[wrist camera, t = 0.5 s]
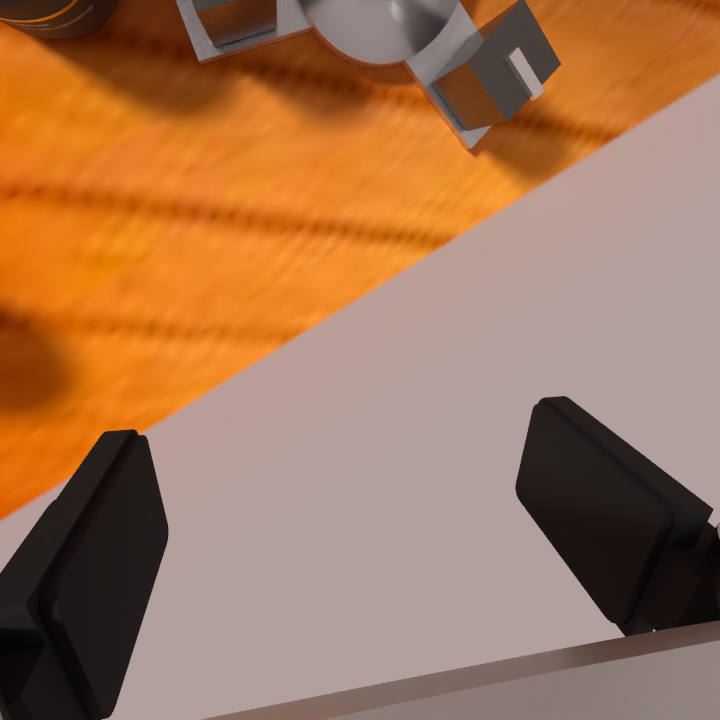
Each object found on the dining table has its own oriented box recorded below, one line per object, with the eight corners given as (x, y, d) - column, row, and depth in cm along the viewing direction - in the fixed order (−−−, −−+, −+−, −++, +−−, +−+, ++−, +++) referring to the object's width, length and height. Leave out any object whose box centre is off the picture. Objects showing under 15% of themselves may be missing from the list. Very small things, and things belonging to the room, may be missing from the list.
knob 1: (430, 83, 30) (470, 59, 24) (474, 32, 29) (527, -7, 23) (467, 133, 32) (513, 123, 25) (510, 86, 31) (567, 65, 25)
